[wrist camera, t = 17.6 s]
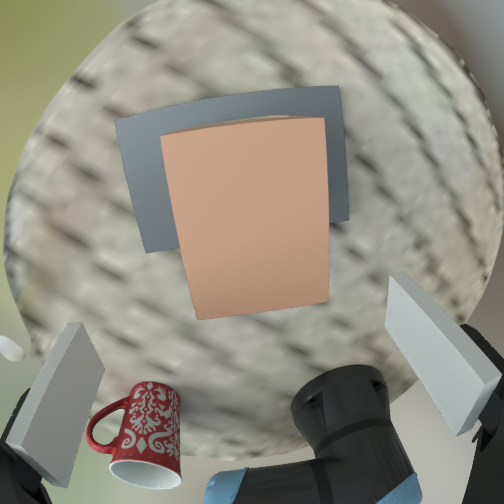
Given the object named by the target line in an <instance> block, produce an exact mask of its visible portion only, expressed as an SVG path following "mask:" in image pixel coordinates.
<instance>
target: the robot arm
mask: <svg viewBox="0 0 504 504" xmlns="http://www.w3.org/2000/svg"><path fill="white" fill-rule="evenodd" d="M384 328H385V329H386V330H387V332H388V333H389V335H390V336H391V338H392V339H393V341H394V342H395V344H396V345H397V346H398V348H399V349H400V351H401V352H402V354H403V355H404V357H405V358H406V360H407V361H408V363H409V364H410V366H411V367H412V369H413V370H414V372H415V374H416V375H417V377H418V378H419V380H420V381H421V383H422V384H423V386H424V388H425V389H426V391H427V392H428V394H429V395H430V397H431V399H432V400H433V402H434V403H435V405H436V407H437V408H438V410H439V411H440V413H441V415H442V416H443V418H444V420H445V421H446V423H447V425H448V426H449V428H450V430H451V431H452V433H453V435H454V436H455V437H457V436H459V435H461V434H463V433H465V432H466V431H468V430H470V429H472V428H473V426H474V425H475V423H476V421H477V420H478V419H479V420H480V421H481V423H482V425H481V427H480V428H479V430H478V432H477V433H476V434H475V436H474V437H473V440H472V442H473V443H474V442H475V440H476V439H477V438H478V441H477V446H476V451H475V456H474V460H473V465H472V469H471V473H470V477H469V481H468V485H467V488H466V492H465V495H464V498H463V502H462V504H504V359H503V358H502V357H501V355H499V354H498V352H497V351H496V350H495V349H494V348H493V347H491V345H490V344H489V342H488V341H487V340H485V339H484V337H483V336H482V335H481V334H480V333H479V332H478V331H477V330H476V329H474V328H472V327H471V326H469V325H467V324H462V325H460V326H459V325H458V324H457V323H456V322H455V321H454V320H453V319H452V318H451V317H450V316H449V315H448V314H447V313H446V312H445V311H444V310H443V309H442V308H441V307H440V306H439V305H438V304H437V303H436V301H435V300H434V299H433V298H432V297H431V296H430V295H429V294H428V293H427V292H426V291H424V290H423V289H422V288H421V287H420V286H419V285H418V284H417V283H416V282H415V281H414V280H413V279H412V278H411V277H410V276H409V275H408V274H407V273H406V272H401V273H396V274H391V275H390V277H389V289H388V299H387V308H386V317H385V325H384ZM104 371H105V367H104V365H103V363H102V362H101V360H100V358H99V356H98V354H97V352H96V350H95V348H94V346H93V344H92V342H91V340H90V338H89V336H88V334H87V332H86V330H85V327H84V325H83V323H82V322H78V323H68V325H67V326H66V328H65V330H64V331H63V333H62V334H61V336H60V338H59V339H58V341H57V343H56V344H55V346H54V348H53V350H52V351H51V353H50V355H49V357H48V358H47V360H46V362H45V364H44V365H43V367H42V369H41V371H40V373H39V374H38V376H37V378H36V380H35V382H34V384H33V386H32V387H31V388H29V389H28V390H27V391H26V392H25V393H24V394H23V395H22V396H21V398H20V400H19V401H18V403H17V405H16V408H15V409H14V411H13V413H12V416H11V417H10V419H9V422H8V423H7V426H6V428H5V430H4V432H3V434H2V437H1V439H0V504H52V502H51V500H50V497H49V495H48V493H47V491H46V489H45V487H44V486H43V484H42V483H41V480H42V477H43V478H44V479H45V480H46V481H48V482H49V483H50V484H51V485H55V486H59V487H64V488H68V485H69V481H70V477H71V473H72V469H73V466H74V462H75V459H76V455H77V452H78V448H79V445H80V442H81V439H82V435H83V432H84V429H85V426H86V422H87V419H88V417H89V414H90V411H91V408H92V405H93V402H94V399H95V396H96V393H97V390H98V387H99V385H100V382H101V379H102V376H103V374H104ZM291 410H292V415H293V419H294V423H295V425H296V427H297V428H298V429H299V431H300V432H301V434H302V435H303V436H304V438H305V439H306V440H307V442H308V443H309V445H310V446H311V447H312V449H313V450H314V454H315V458H316V459H312V460H306V461H301V462H295V463H288V464H282V465H274V466H266V467H258V468H248V467H245V468H244V469H240V470H232V471H223V472H219V473H217V474H215V475H213V477H211V479H210V480H209V482H208V484H207V487H206V490H205V495H204V500H203V504H420V502H421V500H422V491H421V488H420V485H419V482H418V479H417V473H416V472H415V471H414V469H413V467H412V465H411V463H410V460H409V458H408V456H407V454H406V452H405V450H404V447H403V445H402V443H401V441H400V439H399V437H398V435H397V433H396V430H395V428H394V426H393V424H392V422H391V419H390V407H389V395H388V388H387V385H386V382H385V381H384V379H383V377H382V375H381V373H380V372H379V371H378V370H376V369H374V368H372V367H369V366H362V365H355V366H347V367H342V368H338V369H335V370H332V371H329V372H327V373H325V374H322V375H320V376H318V377H317V378H315V379H313V380H312V381H310V382H309V383H308V384H306V385H305V386H304V387H303V388H302V389H301V390H300V391H299V392H298V393H297V395H296V396H295V398H294V400H293V402H292V406H291Z"/></svg>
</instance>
